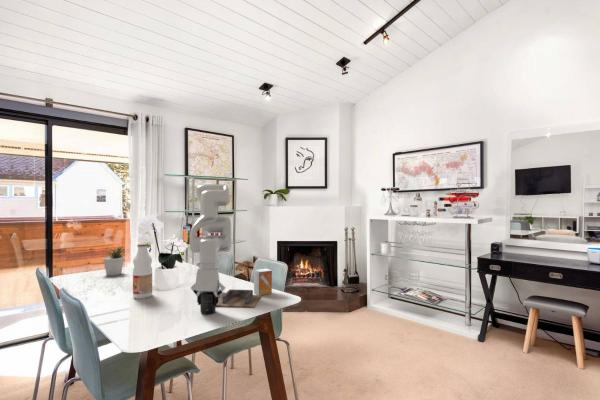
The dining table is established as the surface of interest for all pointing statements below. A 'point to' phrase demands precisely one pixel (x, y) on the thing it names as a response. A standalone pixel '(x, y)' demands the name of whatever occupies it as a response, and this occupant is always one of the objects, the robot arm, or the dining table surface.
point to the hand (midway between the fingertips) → (207, 304)
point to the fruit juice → (142, 273)
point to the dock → (239, 299)
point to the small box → (263, 281)
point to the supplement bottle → (207, 303)
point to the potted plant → (114, 262)
